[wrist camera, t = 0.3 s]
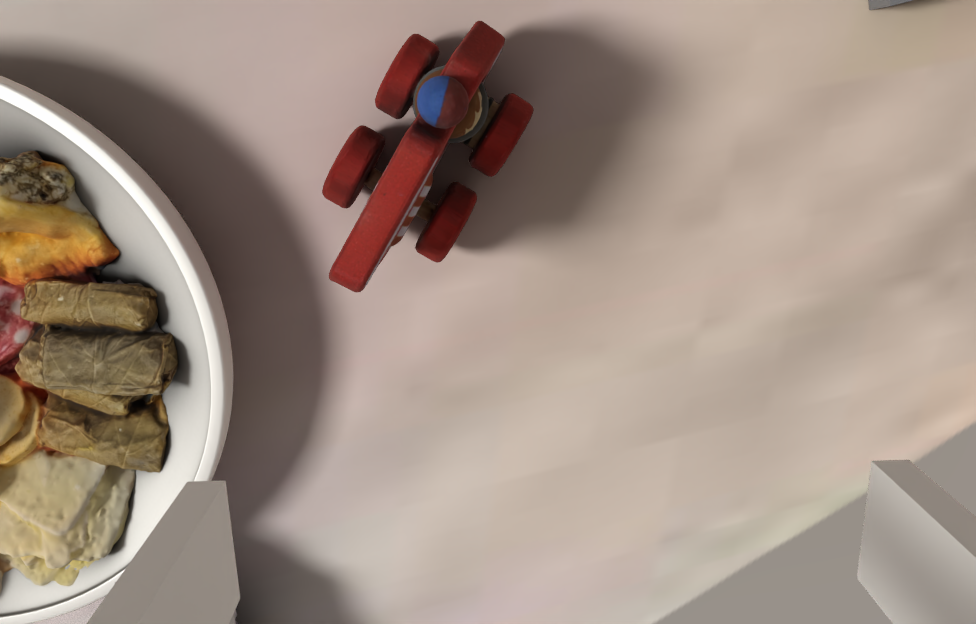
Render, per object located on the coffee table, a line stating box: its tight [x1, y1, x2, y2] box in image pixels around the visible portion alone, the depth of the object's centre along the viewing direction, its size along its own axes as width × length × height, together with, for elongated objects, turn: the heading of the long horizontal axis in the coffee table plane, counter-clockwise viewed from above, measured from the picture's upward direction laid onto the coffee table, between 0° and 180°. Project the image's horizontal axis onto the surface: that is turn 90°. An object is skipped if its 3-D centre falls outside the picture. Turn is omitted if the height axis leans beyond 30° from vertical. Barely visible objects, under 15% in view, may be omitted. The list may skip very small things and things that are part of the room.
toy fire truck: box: [322, 21, 533, 292], centre depth 36 cm, size 7×12×10 cm, turn 148°
